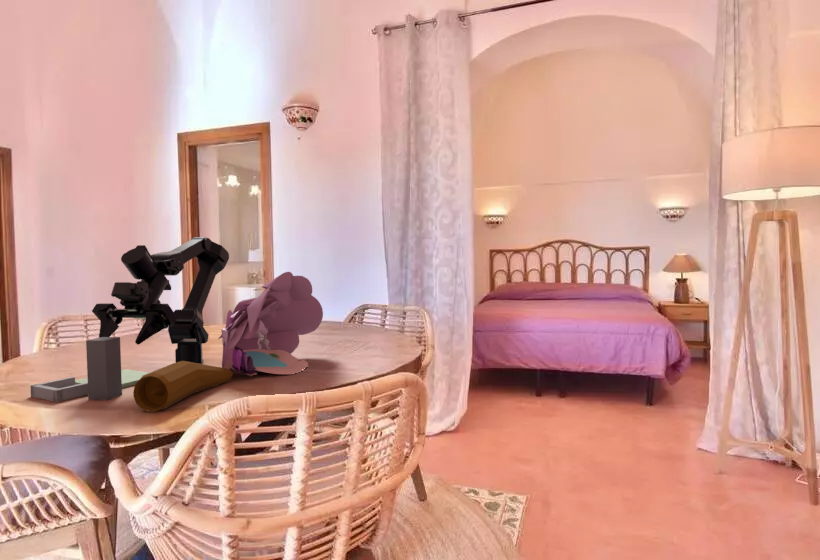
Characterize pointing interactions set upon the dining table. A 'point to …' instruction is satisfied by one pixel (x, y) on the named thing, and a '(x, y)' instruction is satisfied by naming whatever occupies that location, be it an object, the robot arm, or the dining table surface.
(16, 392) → the dining table surface
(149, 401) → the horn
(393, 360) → the dining table surface
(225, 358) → the flower arrangement
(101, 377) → the chute block
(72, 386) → the two-tone flat tray
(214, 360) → the dining table surface
